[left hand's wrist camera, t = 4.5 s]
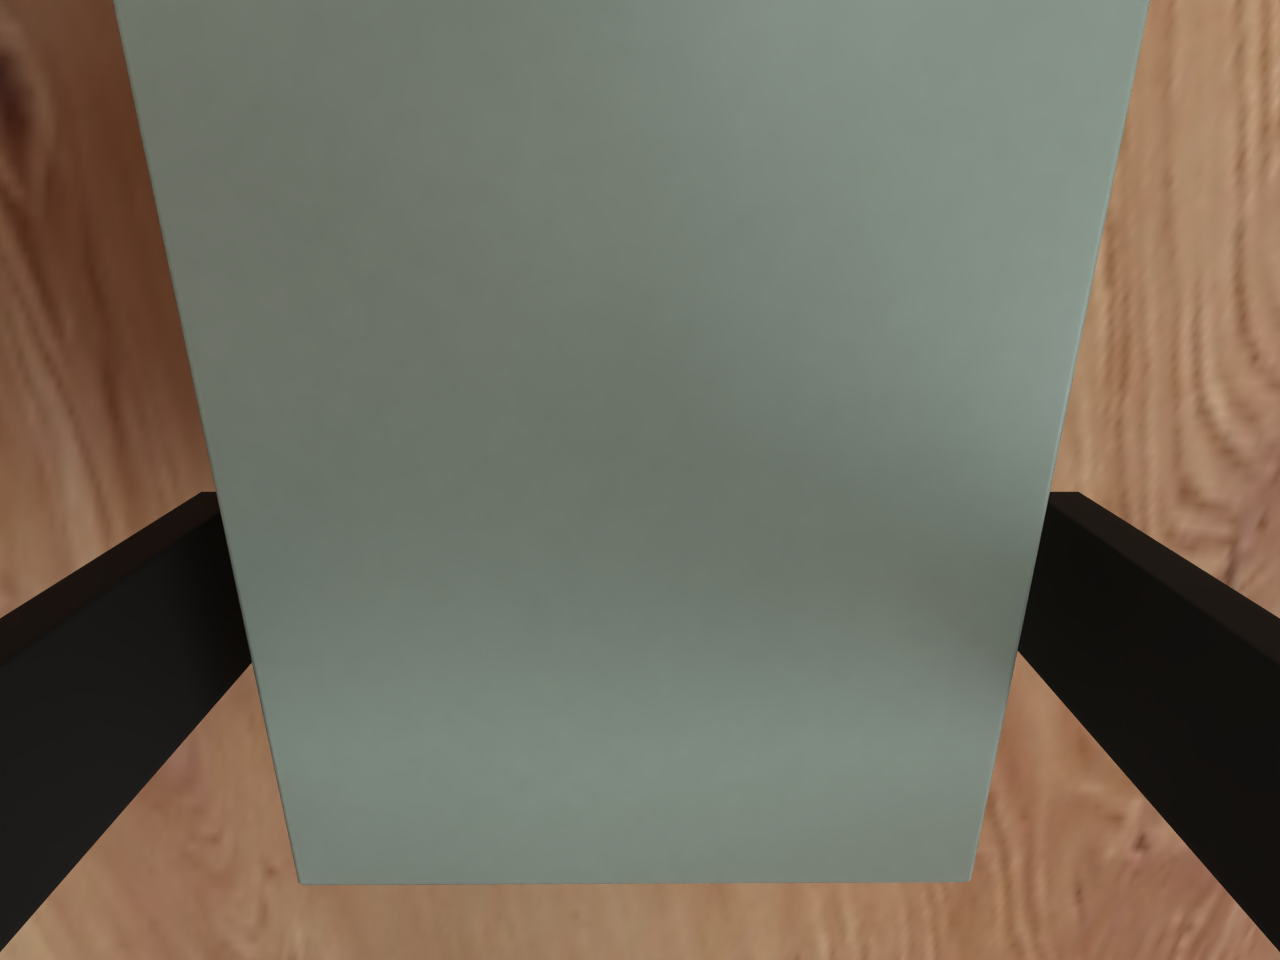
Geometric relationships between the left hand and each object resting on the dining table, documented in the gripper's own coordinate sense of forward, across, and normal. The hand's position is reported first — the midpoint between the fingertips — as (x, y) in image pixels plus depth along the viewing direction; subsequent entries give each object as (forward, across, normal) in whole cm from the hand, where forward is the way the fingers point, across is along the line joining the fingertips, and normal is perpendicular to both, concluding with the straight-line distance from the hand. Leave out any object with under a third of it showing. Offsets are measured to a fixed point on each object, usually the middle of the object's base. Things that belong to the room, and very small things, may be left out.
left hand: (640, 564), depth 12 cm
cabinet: (+8, 0, -5) cm, 10 cm away
